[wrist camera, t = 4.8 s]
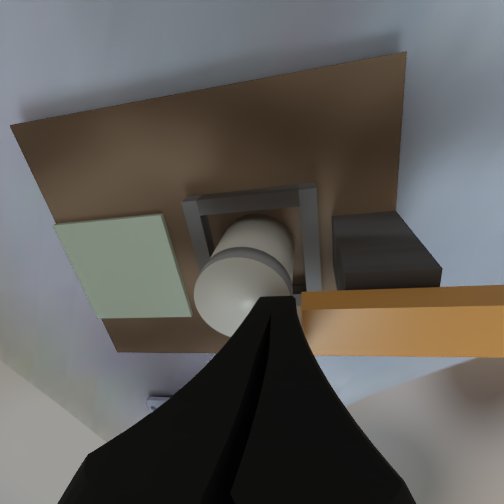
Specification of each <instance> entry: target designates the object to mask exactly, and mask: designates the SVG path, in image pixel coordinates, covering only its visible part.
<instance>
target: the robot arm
mask: <svg viewBox="0 0 504 504" xmlns="http://www.w3.org/2000/svg"><path fill="white" fill-rule="evenodd" d="M146 404H147V406H148V408H149V410H150V412H151V413H150V414H149V415H147V416H146V417H145V418H143V419H142V420H140V421H139V422H138V423H136V424H135V425H133V426H132V427H130V428H129V429H127V430H126V431H124V432H123V433H121V434H120V435H118V436H116V437H115V438H113V439H112V440H110V441H109V442H107V443H106V444H104V445H102V446H101V447H99V448H98V449H96V450H95V451H93V452H91V453H90V454H88V455H87V457H86V458H85V460H84V461H83V463H82V464H81V466H80V468H79V469H78V471H77V472H76V474H75V475H74V477H73V479H72V480H71V482H70V484H69V485H68V487H67V489H66V490H65V492H64V494H63V495H62V497H61V499H60V501H59V502H58V504H416V502H415V501H414V499H413V497H412V495H411V493H410V491H409V489H408V487H407V485H406V483H405V482H404V480H403V479H402V478H401V477H400V476H399V475H398V473H397V472H396V471H395V470H394V469H393V468H392V467H391V465H390V464H389V463H388V462H387V461H386V459H385V458H384V457H383V456H382V455H381V453H380V452H379V451H378V450H377V449H376V447H375V446H374V445H373V444H372V443H371V441H370V440H369V439H368V437H367V436H366V435H365V434H364V432H363V431H362V430H361V428H360V427H359V426H358V425H357V423H356V422H355V420H354V419H353V417H352V416H351V415H350V413H349V412H348V410H347V409H346V407H345V406H344V405H343V403H342V402H341V400H340V399H339V398H338V396H337V395H336V393H335V391H334V390H333V388H332V387H331V385H330V383H329V382H328V380H327V378H326V377H325V375H324V373H323V372H322V370H321V368H320V366H319V364H318V363H317V361H316V359H315V357H314V355H313V353H312V351H311V348H310V346H309V344H308V342H307V340H306V337H305V335H304V332H303V330H302V327H301V324H300V321H299V318H298V314H297V306H296V298H295V297H293V296H265V297H260V298H259V299H258V300H257V301H256V303H255V304H254V306H253V308H252V309H251V310H250V312H249V313H248V315H247V316H246V318H245V319H244V321H243V322H242V323H241V325H240V326H239V327H238V329H237V330H236V331H235V333H234V334H233V335H232V336H231V338H230V339H229V340H228V341H227V342H226V344H225V345H224V346H223V347H222V348H221V349H220V351H219V352H218V353H217V354H216V355H215V356H214V357H213V359H212V360H211V361H210V362H209V363H208V364H207V365H206V366H205V367H204V368H203V369H202V370H201V371H200V372H199V373H198V374H197V375H196V376H195V377H194V378H193V379H191V380H190V381H189V382H188V383H187V384H186V385H185V386H184V387H182V388H181V389H180V390H179V391H178V392H177V393H175V394H174V395H173V396H172V397H149V398H148V399H147V401H146Z"/></svg>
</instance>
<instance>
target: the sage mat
mask: <svg viewBox="0 0 504 504" xmlns="http://www.w3.org/2000/svg"><path fill="white" fill-rule="evenodd" d="M53 228H54V230H55V232H56V234H57V236H58V238H59V240H60V242H61V244H62V246H63V248H64V250H65V252H66V255H67V257H68V259H69V261H70V263H71V265H72V267H73V269H74V271H75V273H76V275H77V277H78V279H79V281H80V283H81V286H82V288H83V290H84V292H85V294H86V296H87V298H88V300H89V302H90V304H91V306H92V308H93V310H94V312H95V315H96V317H97V319H101V318H156V317H192V315H193V313H192V309H191V306H190V303H189V299H188V296H187V292H186V289H185V286H184V282H183V279H182V276H181V272H180V269H179V266H178V262H177V259H176V256H175V252H174V249H173V246H172V242H171V239H170V236H169V232H168V229H167V226H166V222H165V219H164V216H163V213H161V214H151V215H141V216H130V217H120V218H110V219H100V220H89V221H79V222H69V223H58V224H55V225H53Z"/></svg>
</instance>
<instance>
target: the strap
mask: <svg viewBox="0 0 504 504" xmlns="http://www.w3.org/2000/svg"><path fill="white" fill-rule="evenodd" d="M301 313H302V323H303V332H304V335H305V337H306V340H307V342H308V344H309V346H310V348H311V351H312V353H313V355H314V356H408V357H504V285H488V286H458V287H429V288H400V289H370V290H341V291H312V292H301Z"/></svg>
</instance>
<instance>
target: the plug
mask: <svg viewBox="0 0 504 504" xmlns="http://www.w3.org/2000/svg"><path fill="white" fill-rule="evenodd" d="M293 263H294V241H293V238H292V235H291V233H290V232H289V230H288V229H287V228H286V226H285V225H284V224H282V223H281V222H280V221H279V220H277V219H275V218H273V217H271V216H268V215H264V214H248V215H245V216H242V217H240V218H238V219H236V220H235V221H234V222H232V223H231V224H230V226H229V227H228V228H227V230H226V232H225V233H224V235H223V237H222V238H221V240H220V242H219V244H218V245H217V247H216V249H215V250H214V252H213V254H212V256H211V257H210V259H209V260H208V261H207V262H206V264H205V265H204V267H203V269H202V270H201V272H200V274H199V275H198V277H197V280H196V283H195V287H194V301H195V305H196V308H197V310H198V312H199V314H200V315H201V317H202V318H203V319H204V321H205V322H206V323H207V324H208V325H209V326H211V327H212V328H213V329H215V330H216V331H218V332H220V333H222V334H224V335H226V336H229V337H231V336H232V335H233V334H234V333H235V331H236V330H237V329H238V327H239V326H240V325H241V323H242V322H243V321H244V319H245V318H246V316H247V315H248V313H249V312H250V310H251V309H252V308H253V306H254V304H255V303H256V301H257V300H258V299H259V298H260V297H265V296H293V286H292V280H293Z"/></svg>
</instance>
